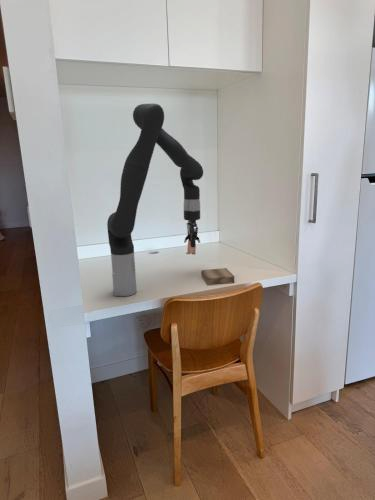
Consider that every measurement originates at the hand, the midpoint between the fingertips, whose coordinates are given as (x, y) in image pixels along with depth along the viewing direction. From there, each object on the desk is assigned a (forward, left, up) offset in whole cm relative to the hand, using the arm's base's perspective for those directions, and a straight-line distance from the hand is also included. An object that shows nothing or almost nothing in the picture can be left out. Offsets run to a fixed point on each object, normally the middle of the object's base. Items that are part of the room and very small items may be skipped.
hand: (192, 245), depth 160 cm
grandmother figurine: (0, 0, -4) cm, 4 cm away
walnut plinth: (+9, -10, -14) cm, 19 cm away
